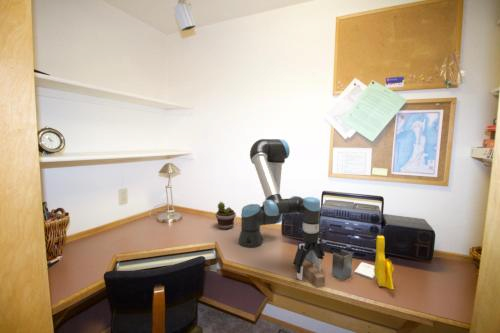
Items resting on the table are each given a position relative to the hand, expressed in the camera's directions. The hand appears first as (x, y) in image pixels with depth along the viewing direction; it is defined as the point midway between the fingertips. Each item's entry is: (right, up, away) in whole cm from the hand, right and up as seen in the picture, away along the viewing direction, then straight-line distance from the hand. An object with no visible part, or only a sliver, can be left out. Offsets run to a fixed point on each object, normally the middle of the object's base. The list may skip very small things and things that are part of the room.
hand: (308, 274), depth 112 cm
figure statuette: (+32, -2, -6) cm, 32 cm away
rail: (0, 0, 0) cm, 1 cm away
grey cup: (+15, 0, +1) cm, 15 cm away
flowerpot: (-46, +7, +61) cm, 76 cm away
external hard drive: (+30, -1, +4) cm, 30 cm away
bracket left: (+6, +1, +14) cm, 15 cm away
